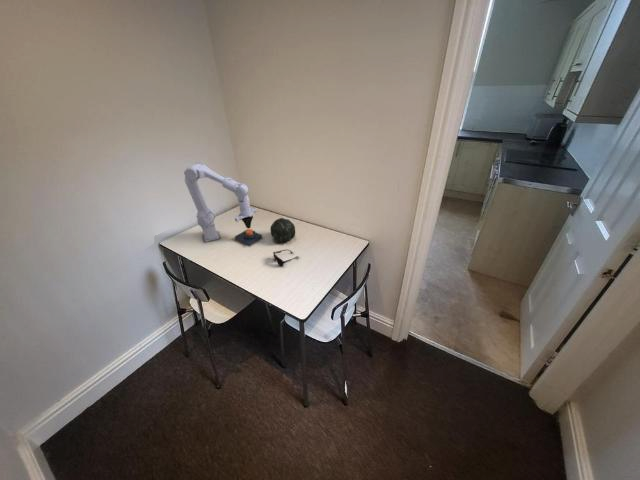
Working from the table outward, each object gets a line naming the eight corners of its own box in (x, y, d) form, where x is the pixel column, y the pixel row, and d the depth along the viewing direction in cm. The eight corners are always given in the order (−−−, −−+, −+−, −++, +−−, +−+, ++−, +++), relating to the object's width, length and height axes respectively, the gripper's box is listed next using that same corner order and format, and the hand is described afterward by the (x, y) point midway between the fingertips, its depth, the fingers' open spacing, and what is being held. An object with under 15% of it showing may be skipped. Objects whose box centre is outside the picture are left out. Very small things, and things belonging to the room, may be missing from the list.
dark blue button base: (235, 239, 152) (234, 233, 150) (248, 232, 159) (247, 226, 157) (249, 246, 147) (248, 239, 144) (262, 238, 154) (261, 231, 151)
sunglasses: (270, 258, 136) (270, 250, 134) (289, 253, 143) (290, 245, 141) (280, 268, 129) (280, 260, 127) (300, 262, 136) (300, 254, 134)
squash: (294, 221, 160) (277, 208, 150) (303, 233, 149) (286, 220, 139) (279, 238, 161) (261, 226, 151) (287, 251, 150) (268, 239, 140)
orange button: (244, 234, 150) (244, 231, 149) (249, 231, 152) (249, 228, 151) (249, 236, 148) (248, 233, 147) (254, 233, 151) (254, 230, 149)
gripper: (239, 213, 133) (243, 235, 141) (259, 203, 144) (262, 224, 151) (230, 209, 137) (235, 231, 144) (250, 200, 147) (253, 221, 154)
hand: (248, 227), depth 148 cm, fingers closed
